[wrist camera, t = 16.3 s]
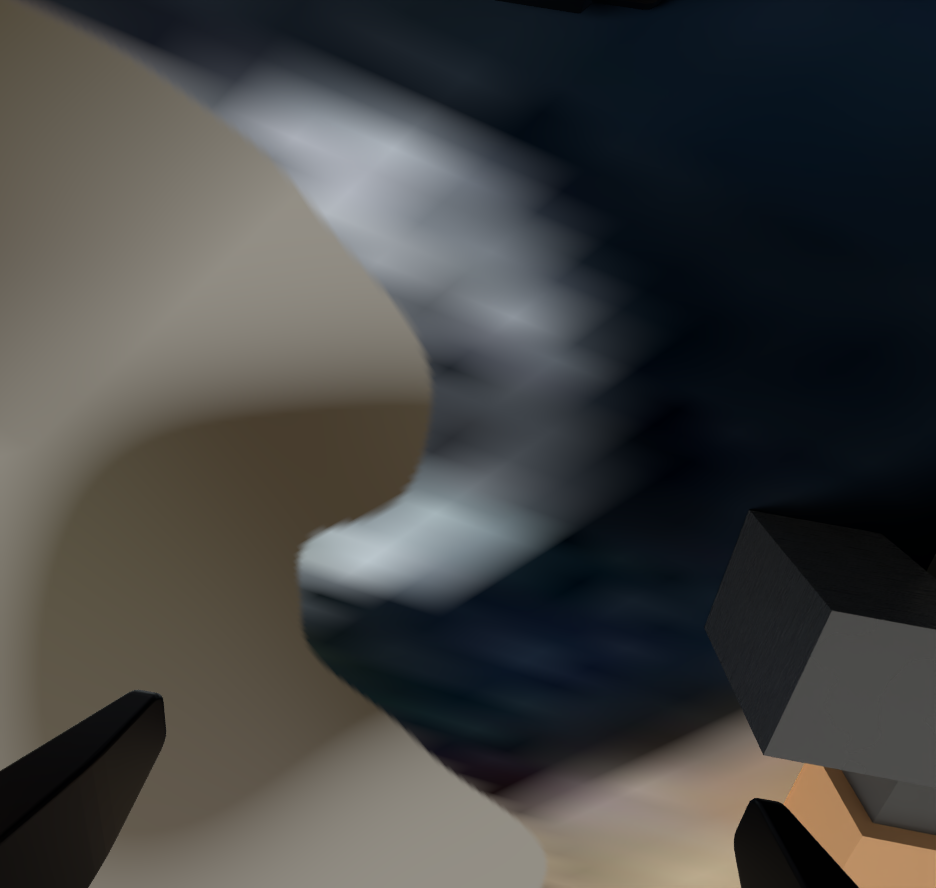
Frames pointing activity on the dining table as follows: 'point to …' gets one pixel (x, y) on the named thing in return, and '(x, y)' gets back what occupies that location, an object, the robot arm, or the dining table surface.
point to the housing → (830, 647)
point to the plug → (870, 823)
